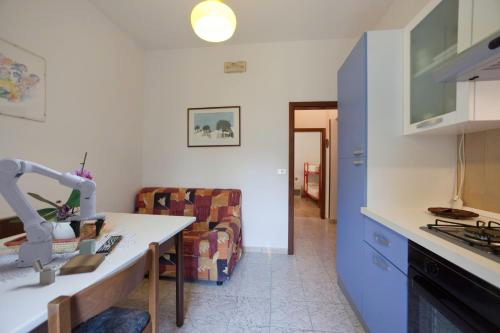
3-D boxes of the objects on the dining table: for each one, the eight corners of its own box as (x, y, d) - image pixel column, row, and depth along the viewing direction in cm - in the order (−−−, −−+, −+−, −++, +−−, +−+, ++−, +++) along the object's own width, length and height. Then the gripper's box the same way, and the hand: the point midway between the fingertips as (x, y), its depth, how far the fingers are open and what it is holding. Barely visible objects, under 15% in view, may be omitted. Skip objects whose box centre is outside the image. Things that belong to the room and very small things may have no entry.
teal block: (79, 256, 92) (79, 243, 92) (83, 252, 96) (84, 239, 96) (91, 255, 94) (91, 242, 93) (95, 251, 98) (95, 239, 98)
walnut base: (59, 276, 77) (59, 268, 77) (74, 262, 87) (75, 255, 87) (94, 272, 80) (94, 264, 80) (105, 259, 91) (105, 252, 91)
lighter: (55, 281, 72) (55, 258, 72) (50, 284, 71) (50, 261, 71) (36, 280, 73) (36, 258, 73) (30, 283, 71) (31, 260, 71)
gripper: (63, 209, 89) (63, 240, 89) (103, 207, 93) (102, 237, 93) (72, 206, 96) (72, 235, 96) (108, 204, 100) (108, 232, 100)
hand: (87, 236), depth 95 cm, fingers open, 7 cm apart
